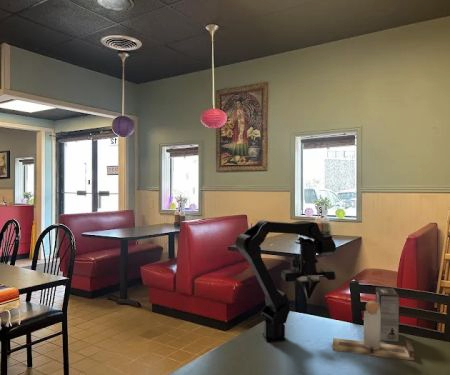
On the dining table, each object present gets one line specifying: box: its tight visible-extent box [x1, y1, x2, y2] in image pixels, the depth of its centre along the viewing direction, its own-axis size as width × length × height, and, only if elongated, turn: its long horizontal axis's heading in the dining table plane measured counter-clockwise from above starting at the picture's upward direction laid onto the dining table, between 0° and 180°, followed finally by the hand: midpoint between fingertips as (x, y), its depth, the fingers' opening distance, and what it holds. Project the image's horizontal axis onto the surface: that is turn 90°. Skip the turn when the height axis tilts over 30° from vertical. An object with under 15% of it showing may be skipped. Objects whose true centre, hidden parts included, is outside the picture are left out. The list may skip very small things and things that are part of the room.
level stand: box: [332, 337, 415, 361], centre depth 126 cm, size 24×9×3 cm, turn 73°
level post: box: [363, 300, 381, 350], centre depth 125 cm, size 5×5×15 cm
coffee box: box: [375, 286, 400, 342], centre depth 136 cm, size 9×6×16 cm
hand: (308, 298), depth 141 cm, fingers closed
